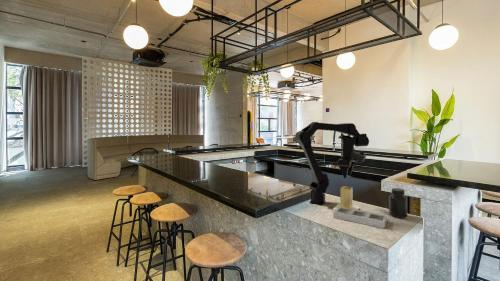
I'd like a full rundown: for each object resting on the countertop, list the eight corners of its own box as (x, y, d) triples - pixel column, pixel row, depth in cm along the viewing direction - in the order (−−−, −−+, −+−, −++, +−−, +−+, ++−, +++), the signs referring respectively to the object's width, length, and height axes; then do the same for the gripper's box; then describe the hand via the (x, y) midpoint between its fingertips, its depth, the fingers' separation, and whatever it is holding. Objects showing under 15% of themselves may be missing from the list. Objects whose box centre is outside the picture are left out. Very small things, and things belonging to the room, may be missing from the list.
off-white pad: (333, 209, 117) (333, 208, 117) (338, 204, 124) (338, 203, 124) (355, 214, 111) (355, 213, 111) (359, 208, 118) (359, 207, 118)
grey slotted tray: (333, 217, 108) (333, 212, 108) (338, 211, 115) (338, 206, 114) (384, 228, 96) (384, 222, 96) (387, 221, 103) (387, 215, 102)
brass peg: (340, 208, 117) (340, 188, 116) (343, 205, 121) (343, 186, 120) (349, 210, 115) (350, 189, 114) (352, 207, 118) (352, 187, 117)
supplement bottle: (400, 212, 112) (400, 187, 111) (410, 218, 105) (411, 191, 104) (385, 213, 111) (386, 187, 110) (394, 219, 105) (395, 192, 104)
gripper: (360, 149, 116) (359, 182, 117) (368, 145, 131) (367, 174, 132) (336, 148, 122) (336, 179, 124) (346, 145, 137) (346, 172, 139)
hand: (347, 176), depth 129 cm, fingers open, 9 cm apart
